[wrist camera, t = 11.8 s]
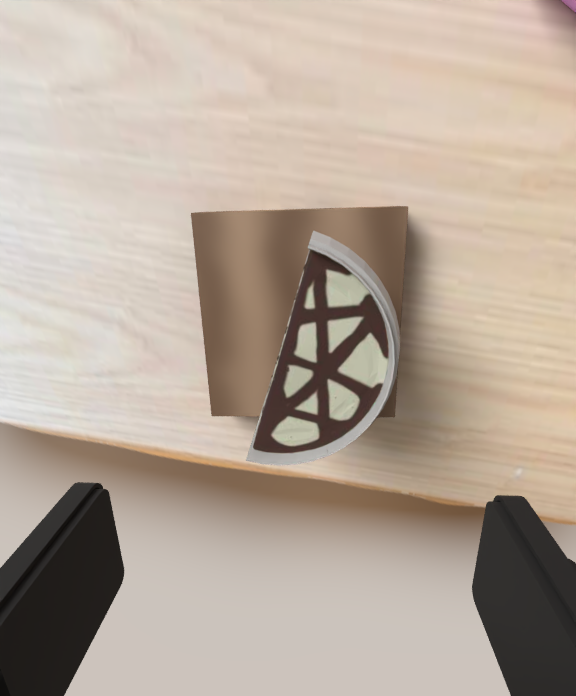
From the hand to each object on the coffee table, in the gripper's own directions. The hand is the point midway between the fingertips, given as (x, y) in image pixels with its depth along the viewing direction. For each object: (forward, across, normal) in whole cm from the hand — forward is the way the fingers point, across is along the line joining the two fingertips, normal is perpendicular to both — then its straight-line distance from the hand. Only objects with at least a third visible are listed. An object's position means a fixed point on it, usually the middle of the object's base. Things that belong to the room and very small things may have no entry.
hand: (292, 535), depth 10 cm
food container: (+20, -2, 0) cm, 20 cm away
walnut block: (+24, +1, 0) cm, 24 cm away
